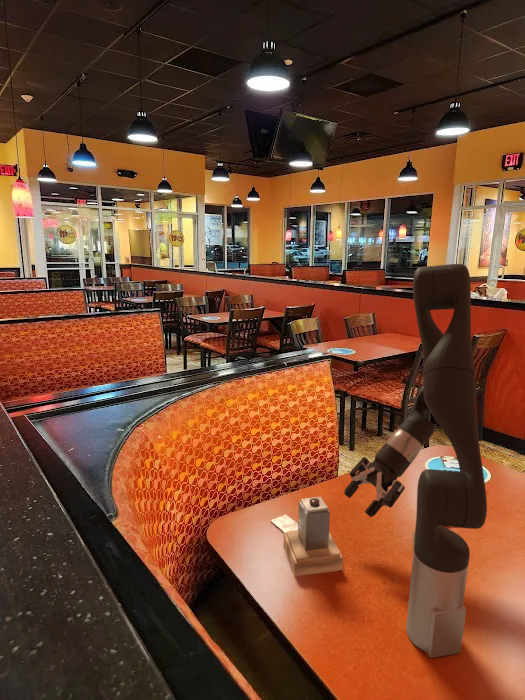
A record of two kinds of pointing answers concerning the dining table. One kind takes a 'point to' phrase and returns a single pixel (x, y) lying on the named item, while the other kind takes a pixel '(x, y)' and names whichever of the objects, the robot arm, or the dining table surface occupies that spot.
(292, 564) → the stand
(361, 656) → the dining table surface
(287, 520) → the cover plate
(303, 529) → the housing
